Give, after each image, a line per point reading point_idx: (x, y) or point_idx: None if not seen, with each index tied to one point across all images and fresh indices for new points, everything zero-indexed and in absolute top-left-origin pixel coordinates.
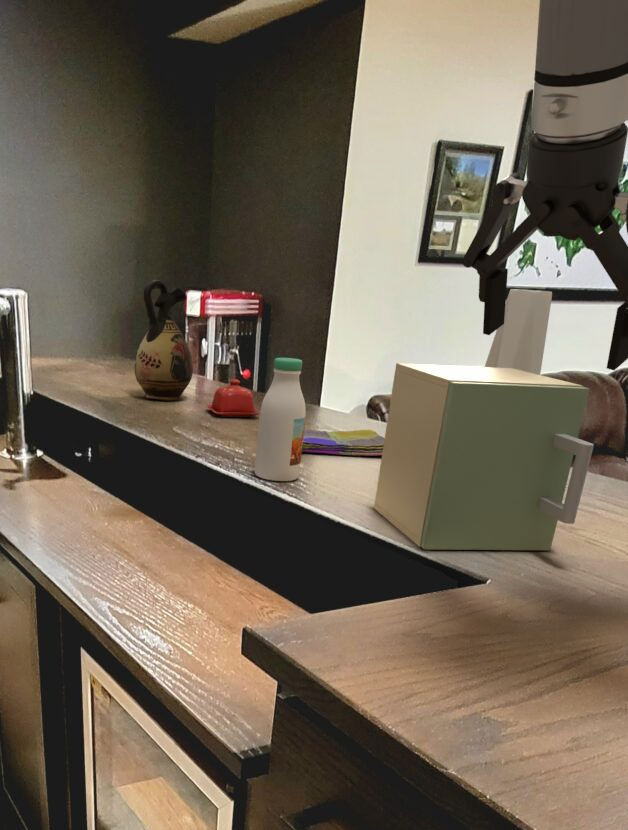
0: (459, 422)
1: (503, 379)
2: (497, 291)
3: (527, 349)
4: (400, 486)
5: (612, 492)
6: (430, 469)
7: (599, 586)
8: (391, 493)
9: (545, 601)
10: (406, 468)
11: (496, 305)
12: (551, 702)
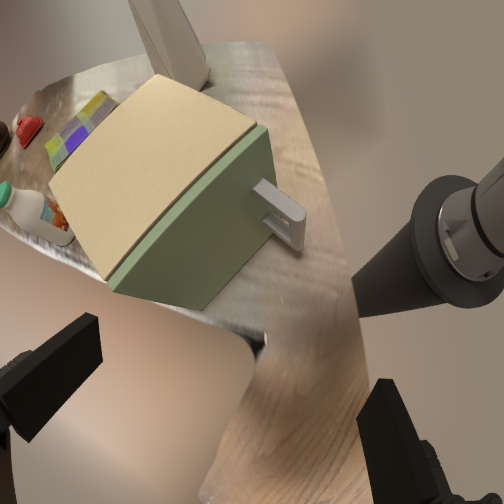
0: (153, 286)
1: (156, 181)
2: (44, 401)
3: (163, 9)
4: None
5: (272, 60)
6: None
7: (335, 274)
8: None
9: (312, 343)
10: None
11: (65, 379)
12: (344, 472)
